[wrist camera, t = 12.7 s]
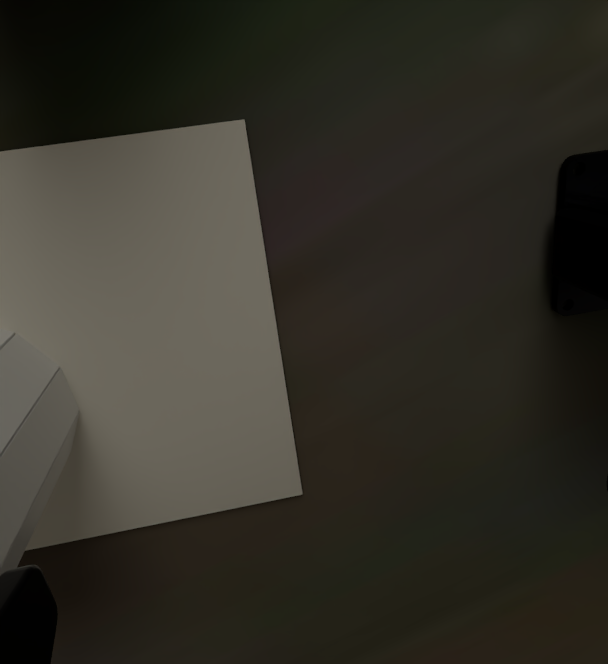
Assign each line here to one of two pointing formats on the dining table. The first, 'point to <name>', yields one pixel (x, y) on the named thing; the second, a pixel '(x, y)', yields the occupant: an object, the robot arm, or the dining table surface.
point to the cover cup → (29, 439)
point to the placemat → (149, 324)
